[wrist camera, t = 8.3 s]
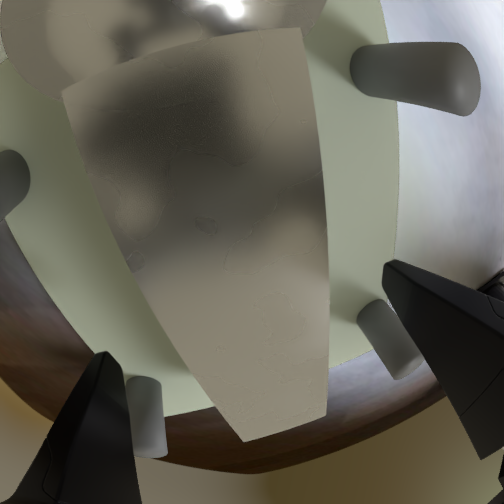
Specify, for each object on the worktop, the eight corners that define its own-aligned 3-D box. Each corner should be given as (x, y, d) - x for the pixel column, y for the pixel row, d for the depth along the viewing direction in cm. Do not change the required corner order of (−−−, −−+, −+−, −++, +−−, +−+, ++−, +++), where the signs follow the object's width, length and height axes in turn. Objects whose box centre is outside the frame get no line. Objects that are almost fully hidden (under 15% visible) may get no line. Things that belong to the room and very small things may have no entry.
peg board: (359, -16, 6) (453, -41, 2) (370, 336, 18) (407, 392, 14) (-22, 92, 5) (-111, 116, 1) (158, 404, 16) (165, 471, 12)
